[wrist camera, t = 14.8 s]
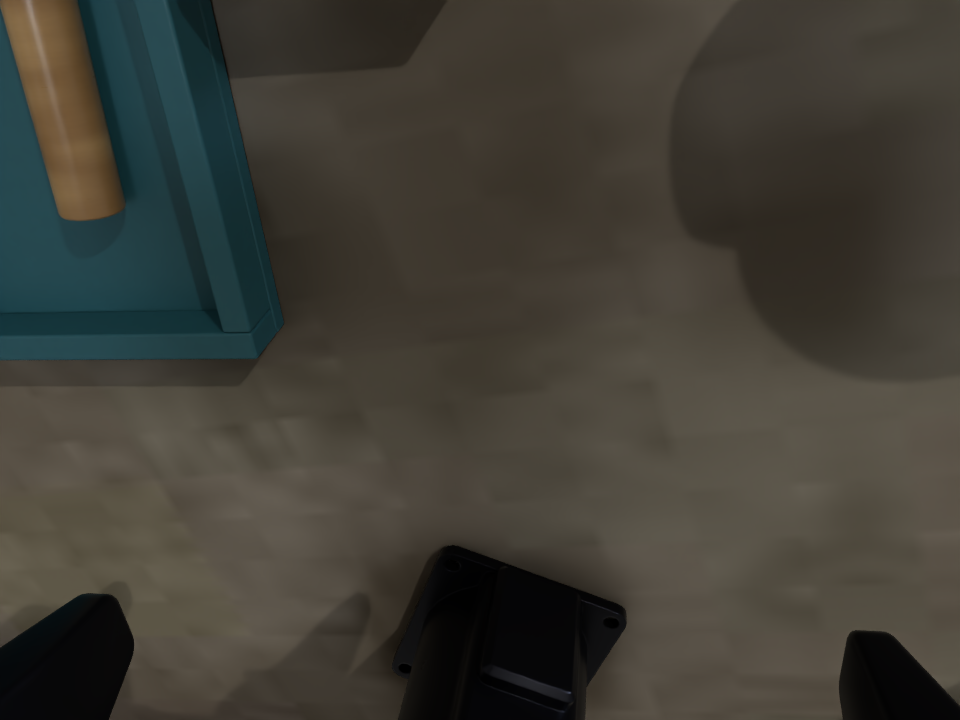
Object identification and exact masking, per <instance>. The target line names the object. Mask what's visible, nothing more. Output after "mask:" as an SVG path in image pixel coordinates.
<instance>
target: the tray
mask: <svg viewBox="0 0 960 720" xmlns="http://www.w3.org/2000/svg"><path fill="white" fill-rule="evenodd" d="M78 4H79V9H80V13H81V17H82V21H83V25H84V30H85V34H86V38H87V42H88V46H89V51H90V55H91V59H92V63H93V67H94V72H95V76H96V80H97V84H98V88H99V93H100V97H101V101H102V105H103V109H104V114H105V118H106V122H107V126H108V130H109V135H110V139H111V143H112V147H113V152H114V156H115V160H116V164H117V168H118V173H119V177H120V181H121V185H122V189H123V194H124V198H125V202H126V206H125V209H124V210H123V211H121V212H120V213H118V214H115V215H113V216H110V217H107V218H103V219H98V220H91V221H71V220H66V219H63V218H62V217H61V216H60V215H59V214H58V210H57V206H56V203H55V199H54V196H53V192H52V189H51V185H50V182H49V178H48V175H47V171H46V167H45V164H44V160H43V157H42V153H41V150H40V146H39V143H38V139H37V136H36V132H35V128H34V125H33V121H32V118H31V114H30V111H29V107H28V104H27V100H26V97H25V93H24V89H23V86H22V82H21V79H20V75H19V72H18V68H17V65H16V61H15V58H14V54H13V50H12V47H11V43H10V40H9V36H8V33H7V29H6V26H5V22H4V19H3V15H2V11H1V8H0V360H143V359H256V358H258V357H259V355H260V354H261V353H262V352H263V350H264V349H265V348H266V346H267V345H268V344H269V342H270V341H271V340H272V338H273V337H274V336H275V334H276V333H277V332H278V331H279V330H280V328H281V327H282V326H283V324H284V321H283V317H282V312H281V308H280V303H279V299H278V295H277V290H276V286H275V282H274V277H273V273H272V268H271V264H270V260H269V255H268V251H267V247H266V242H265V238H264V234H263V229H262V225H261V220H260V216H259V212H258V207H257V203H256V199H255V194H254V190H253V185H252V181H251V177H250V172H249V168H248V164H247V159H246V155H245V150H244V146H243V142H242V137H241V133H240V129H239V124H238V120H237V115H236V111H235V107H234V102H233V98H232V94H231V89H230V85H229V80H228V76H227V72H226V67H225V63H224V59H223V54H222V50H221V46H220V41H219V37H218V32H217V28H216V24H215V19H214V15H213V11H212V6H211V2H210V0H78Z"/></svg>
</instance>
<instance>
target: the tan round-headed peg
mask: <svg viewBox="0 0 960 720" xmlns="http://www.w3.org/2000/svg"><path fill="white" fill-rule="evenodd" d="M0 8H1V11H2V15H3V19H4V22H5V26H6V29H7V33H8V36H9V40H10V43H11V47H12V50H13V54H14V58H15V61H16V65H17V68H18V72H19V75H20V79H21V82H22V86H23V89H24V93H25V97H26V100H27V104H28V107H29V111H30V114H31V118H32V121H33V125H34V128H35V132H36V136H37V139H38V143H39V146H40V150H41V153H42V157H43V160H44V164H45V167H46V171H47V175H48V178H49V182H50V185H51V189H52V192H53V196H54V199H55V203H56V206H57V210H58V214H59V215H60V216H61V217H62V218H63V219H66V220H71V221H91V220H98V219H103V218H107V217H110V216H113V215H115V214H118V213H120V212H121V211H123V210H124V209H125V206H126V202H125V198H124V194H123V189H122V185H121V181H120V177H119V173H118V168H117V164H116V160H115V156H114V152H113V147H112V143H111V139H110V135H109V130H108V126H107V122H106V118H105V114H104V109H103V105H102V101H101V97H100V93H99V88H98V84H97V80H96V76H95V72H94V67H93V63H92V59H91V55H90V51H89V46H88V42H87V38H86V34H85V30H84V25H83V21H82V17H81V13H80V9H79V4H78V0H0Z"/></svg>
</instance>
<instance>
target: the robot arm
mask: <svg viewBox="0 0 960 720" xmlns="http://www.w3.org/2000/svg"><path fill="white" fill-rule="evenodd" d="M449 560H455V561H457V562H458V563H453V562H451V561H449ZM608 617H612V618H615V619H608ZM625 627H626V611H625V609H624V608H623V607H622V606H620V605H618V604H616V603H614V602H611V601H608V600H605V599H603V598H600V597H597V596H594V595H592V594H589V593H586V592H583V591H581V590H578V589H575V588H572V587H569V586H567V585H564V584H561V583H558V582H556V581H553V580H550V579H547V578H545V577H542V576H539V575H536V574H534V573H531V572H528V571H525V570H523V569H520V568H517V567H514V566H511V565H509V564H506V563H503V562H500V561H498V560H495V559H492V558H489V557H487V556H484V555H481V554H478V553H476V552H473V551H470V550H467V549H465V548H462V547H459V546H454V545H452V546H446V547H444V548H443V549H442V550H441V551H440V553H439V555H438V558H437V560H436V562H435V564H434V567H433V569H432V571H431V574H430V576H429V578H428V580H427V583H426V585H425V587H424V590H423V592H422V594H421V596H420V599H419V601H418V603H417V606H416V608H415V610H414V612H413V615H412V617H411V619H410V622H409V624H408V626H407V628H406V631H405V633H404V635H403V638H402V640H401V642H400V644H399V647H398V649H397V651H396V654H395V656H394V660H393V663H392V669H393V671H394V672H395V673H396V674H397V675H399V676H401V677H403V678H406V679H408V683H407V687H406V691H405V694H404V698H403V702H402V706H401V710H400V713H399V717H398V720H585V709H586V687H587V686H588V684H589V682H590V681H591V679H592V678H593V676H594V675H595V673H596V672H597V670H598V669H599V667H600V666H601V664H602V663H603V661H604V660H605V658H606V657H607V655H608V653H609V652H610V650H611V649H612V647H613V646H614V644H615V643H616V641H617V640H618V638H619V637H620V635H621V634H622V632H623V631H624V629H625ZM133 651H134V639H133V635H132V633H131V630H130V628H129V626H128V623H127V621H126V618H125V616H124V614H123V611H122V609H121V606H120V604H119V602H118V600H117V599H116V598H115V597H114V596H113V595H109V594H93V593H86V594H82V595H79V596H77V597H76V598H74V599H73V600H71V601H70V602H68V603H67V604H65V605H64V606H62V607H61V608H59V609H58V610H56V611H54V612H53V613H51V614H50V615H48V616H47V617H45V618H44V619H42V620H41V621H39V622H38V623H36V624H35V625H33V626H32V627H30V628H29V629H27V630H26V631H24V632H23V633H21V634H20V635H18V636H17V637H15V638H14V639H12V640H11V641H9V642H8V643H6V644H5V645H3V646H2V647H0V720H109V717H110V715H111V712H112V709H113V707H114V704H115V701H116V699H117V696H118V694H119V691H120V688H121V686H122V683H123V680H124V678H125V675H126V672H127V670H128V667H129V665H130V662H131V659H132V656H133ZM839 694H840V703H841V709H842V715H843V720H960V706H959V705H958V704H957V703H956V702H955V700H954V699H953V698H952V697H951V696H950V695H949V694H948V693H947V692H946V691H945V690H944V689H943V688H942V687H941V686H940V685H939V684H938V683H937V681H936V680H935V679H934V678H933V677H932V676H931V675H930V674H929V673H928V672H927V671H926V670H925V669H924V668H923V667H922V666H921V665H920V664H919V662H918V661H917V660H916V659H915V658H914V657H913V656H912V655H911V654H910V653H909V652H908V651H907V650H906V649H905V648H904V647H903V646H902V645H901V643H900V642H899V641H898V640H897V639H896V638H895V637H894V636H892V635H891V634H889V633H887V632H882V631H862V630H855V631H852V632H850V634H849V636H848V637H847V641H846V647H845V652H844V657H843V663H842V668H841V673H840V680H839Z"/></svg>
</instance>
